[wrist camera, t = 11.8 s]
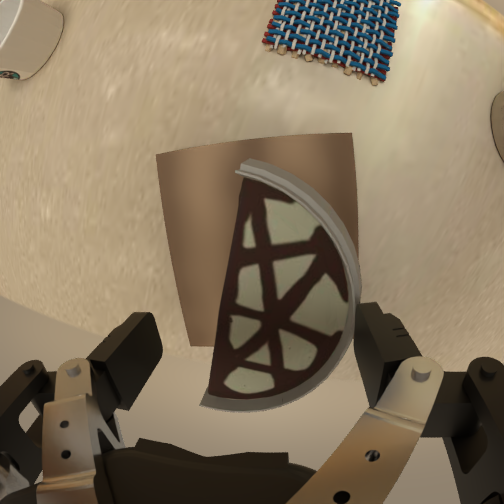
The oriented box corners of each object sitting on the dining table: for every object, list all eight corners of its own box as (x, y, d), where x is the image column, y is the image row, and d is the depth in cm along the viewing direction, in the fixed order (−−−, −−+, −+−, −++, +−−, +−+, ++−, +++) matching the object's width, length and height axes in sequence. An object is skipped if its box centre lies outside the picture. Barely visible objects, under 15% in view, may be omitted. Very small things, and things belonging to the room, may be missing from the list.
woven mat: (288, -27, 16) (288, -39, 14) (396, 8, 16) (403, -1, 14) (258, 52, 19) (256, 43, 17) (379, 91, 19) (387, 85, 17)
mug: (79, 2, 17) (38, -22, 10) (47, 80, 21) (-4, 69, 13) (19, 21, 18) (-18, 9, 10) (-5, 87, 21) (-46, 84, 13)
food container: (315, 340, 22) (313, 439, 12) (240, 323, 22) (198, 411, 13) (360, 185, 18) (412, 198, 9) (272, 164, 19) (238, 154, 9)
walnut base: (342, 137, 20) (351, 132, 18) (348, 320, 25) (354, 338, 22) (170, 155, 22) (155, 154, 19) (199, 328, 26) (190, 346, 24)
